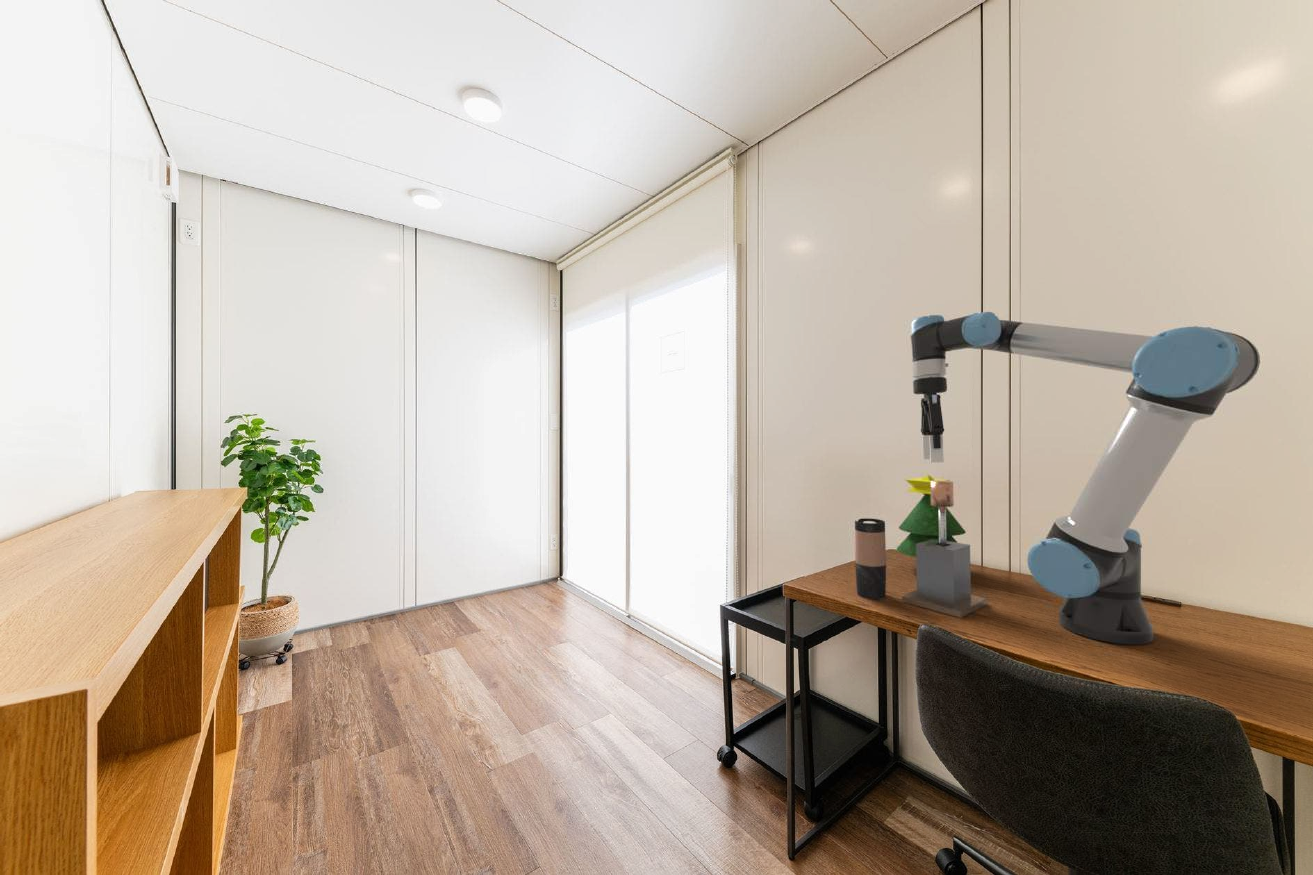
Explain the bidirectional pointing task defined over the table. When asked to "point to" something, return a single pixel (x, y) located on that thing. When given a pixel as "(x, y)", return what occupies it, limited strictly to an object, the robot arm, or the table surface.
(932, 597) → the press housing
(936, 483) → the plunger
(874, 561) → the travel mug
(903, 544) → the decorative tree
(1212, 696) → the table surface
